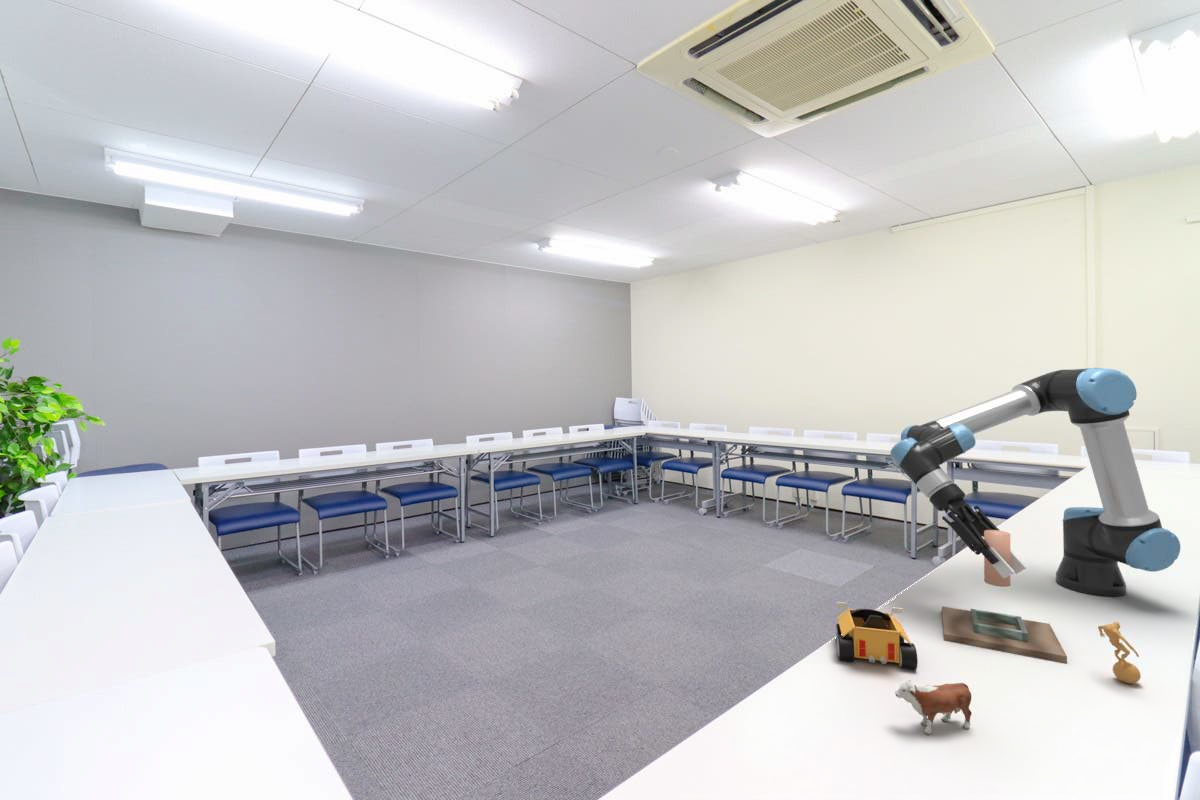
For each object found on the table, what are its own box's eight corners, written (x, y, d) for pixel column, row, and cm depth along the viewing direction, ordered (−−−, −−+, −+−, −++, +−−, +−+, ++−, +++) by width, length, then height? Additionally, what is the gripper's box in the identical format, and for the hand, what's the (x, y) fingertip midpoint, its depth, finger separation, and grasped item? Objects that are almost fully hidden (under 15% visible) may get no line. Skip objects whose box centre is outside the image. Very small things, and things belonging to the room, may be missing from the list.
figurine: (1156, 694, 102) (1157, 632, 102) (1122, 693, 103) (1123, 631, 103) (1118, 671, 111) (1119, 613, 110) (1087, 670, 111) (1087, 613, 111)
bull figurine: (891, 721, 96) (891, 676, 96) (962, 716, 97) (961, 671, 97) (907, 737, 91) (907, 690, 91) (981, 731, 92) (981, 685, 92)
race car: (902, 644, 124) (902, 599, 124) (919, 677, 110) (919, 626, 110) (833, 636, 129) (832, 592, 129) (840, 667, 115) (839, 618, 115)
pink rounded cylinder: (1008, 581, 128) (1008, 531, 128) (1011, 588, 124) (1011, 536, 124) (983, 577, 131) (983, 528, 130) (985, 584, 126) (985, 533, 126)
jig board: (1049, 629, 129) (1049, 615, 129) (1067, 663, 114) (1067, 647, 114) (941, 611, 141) (941, 598, 141) (944, 640, 125) (944, 625, 125)
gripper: (949, 495, 145) (1021, 573, 131) (910, 503, 136) (982, 588, 122) (971, 478, 140) (1047, 558, 126) (931, 485, 131) (1009, 572, 117)
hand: (1015, 572), depth 124 cm, fingers closed on pink rounded cylinder, 5 cm apart
